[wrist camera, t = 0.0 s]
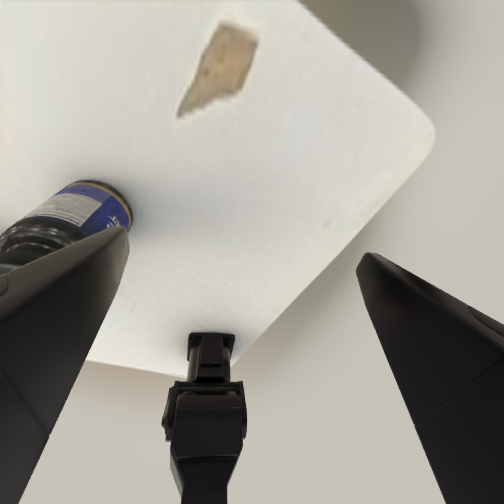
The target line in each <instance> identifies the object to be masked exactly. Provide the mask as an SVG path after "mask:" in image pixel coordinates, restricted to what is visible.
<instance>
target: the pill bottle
mask: <svg viewBox="0 0 504 504" xmlns="http://www.w3.org/2000/svg"><path fill="white" fill-rule="evenodd" d="M132 221H133V216H132V211H131V208H130V206H129V205H128V203H127V202H126V201H125V200H124V199H123V196H122V195H121V194H120V193H119V192H118V191H116V190H115V189H113V188H111V187H110V186H108V185H105V184H103V183H99V182H95V181H86V180H85V181H77V182H74V183H72V184H70V185H68V186H66V187H65V188H64V189H62V190H61V191H60V192H58V193H57V194H55V195H54V196H53V197H51V198H50V199H48V200H47V201H46V202H44V203H43V204H41V205H40V206H39V207H37V208H36V209H35V210H33V211H32V212H30V213H29V214H28V215H26V216H25V217H23V218H22V219H21V220H19V221H18V222H16V223H15V224H14V225H12V226H11V227H10V228H8V229H7V230H6V231H5V232H4V233H3V234H2V235H1V237H0V275H2V274H5V273H6V274H8V272H9V271H12V270H14V269H16V268H18V267H21V266H23V265H25V264H28V263H30V262H32V261H34V260H37V259H39V258H41V257H43V256H46V255H48V254H50V253H53V252H55V251H57V250H59V249H62V248H64V247H66V246H68V245H71V244H73V243H75V242H77V241H80V240H82V239H84V238H87V237H89V236H91V235H93V234H96V233H98V232H100V231H102V230H105V229H107V228H109V227H112V226H120V227H125V228H126V229H127V232H129V230H130V228H131V226H132Z"/></svg>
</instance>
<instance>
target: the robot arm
mask: <svg viewBox="0 0 504 504" xmlns="http://www.w3.org/2000/svg"><path fill="white" fill-rule="evenodd" d="M128 255H129V239H128V232H127V229H126V228H125V227H120V226H112V227H109V228H107V229H105V230H102V231H100V232H98V233H96V234H93V235H91V236H89V237H87V238H84V239H82V240H80V241H77V242H75V243H73V244H71V245H68V246H66V247H64V248H62V249H59V250H57V251H55V252H53V253H50V254H48V255H46V256H43V257H41V258H39V259H37V260H34V261H32V262H30V263H28V264H25V265H23V266H21V267H18V268H16V269H14V270H12V271H9V272H8V274H6V273H5V274H2V275H0V504H18V503H19V501H20V499H21V497H22V495H23V493H24V491H25V488H26V486H27V484H28V482H29V480H30V478H31V475H32V473H33V471H34V469H35V467H36V465H37V463H38V460H39V458H40V456H41V454H42V452H43V449H44V447H45V445H46V443H47V441H48V439H49V435H50V434H51V432H52V430H53V428H54V426H55V423H56V421H57V419H58V417H59V415H60V413H61V411H62V408H63V406H64V404H65V402H66V400H67V398H68V396H69V393H70V391H71V389H72V387H73V384H74V383H75V380H76V378H77V376H78V374H79V372H80V370H81V368H82V365H83V363H84V361H85V359H86V357H87V355H88V353H89V350H90V348H91V346H92V344H93V342H94V340H95V338H96V335H97V333H98V331H99V329H100V327H101V325H102V322H103V320H104V318H105V316H106V314H107V312H108V310H109V307H110V305H111V303H112V301H113V299H114V297H115V294H116V292H117V290H118V287H119V284H120V281H121V277H122V274H123V271H124V268H125V265H126V261H127V258H128ZM356 275H357V278H358V282H359V285H360V289H361V292H362V295H363V299H364V302H365V306H366V308H367V311H368V313H369V316H370V318H371V321H372V323H373V326H374V328H375V330H376V333H377V335H378V338H379V340H380V343H381V345H382V348H383V350H384V353H385V355H386V357H387V360H388V362H389V365H390V367H391V370H392V372H393V374H394V377H395V380H396V382H397V384H398V387H399V389H400V391H401V394H402V397H403V399H404V402H405V404H406V406H407V409H408V411H409V414H410V416H411V419H412V421H413V424H415V429H416V431H417V434H418V436H419V439H420V441H421V444H422V446H423V449H424V451H425V453H426V456H427V458H428V461H429V463H430V466H431V468H432V471H433V473H434V475H435V478H436V481H437V483H438V485H439V488H440V490H441V493H442V495H443V498H444V500H445V503H446V504H504V325H503V324H501V323H500V322H498V321H496V320H494V319H492V318H491V317H489V316H487V315H485V314H483V313H482V312H480V311H478V310H476V309H474V308H473V307H471V306H469V305H466V304H465V303H463V302H462V301H460V300H458V299H457V298H455V297H453V296H451V295H450V294H448V293H446V292H444V291H442V290H441V289H439V288H437V287H435V286H434V285H432V284H430V283H428V282H426V281H425V280H423V279H421V278H419V277H418V276H416V275H414V274H412V273H411V272H409V271H407V270H405V269H403V268H402V267H400V266H398V265H396V264H395V263H393V262H391V261H389V260H388V259H386V258H384V257H382V256H381V255H378V254H377V253H370V252H367V253H365V254H364V255H363V257H362V259H361V261H360V263H359V264H358V266H357V269H356ZM234 341H235V336H234V335H223V334H196V333H191V334H189V337H188V355H187V361H189V367H188V375H187V382H179V381H175V384H174V386H173V387H171V388H169V394H168V399H167V404H166V407H165V411H164V415H163V418H162V426H163V428H164V429H165V434H166V442H171V446H170V467H171V471H172V474H173V477H174V480H175V483H176V485H177V488H178V490H179V494H180V496H181V504H227V486H228V483H229V481H230V479H231V477H232V474H233V472H234V469H235V467H236V464H237V461H238V459H239V456H240V453H241V451H242V447H243V439H245V437H246V431H247V409H246V402H245V394H244V387H243V381H238V382H230V359H231V354H232V350H233V346H234Z"/></svg>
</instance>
